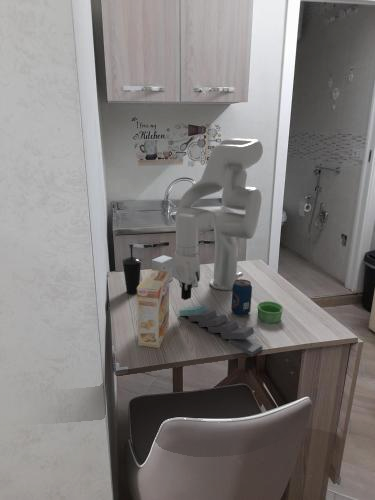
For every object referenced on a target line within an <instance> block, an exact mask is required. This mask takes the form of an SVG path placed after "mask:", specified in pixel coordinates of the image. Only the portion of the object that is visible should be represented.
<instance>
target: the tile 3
mask: <svg viewBox="0 0 375 500" xmlns="http://www.w3.org/2000/svg"><path fill="white" fill-rule="evenodd" d="M227 321H229V319H228V316H227V314H222V315H220V314H219V315H217V316H216V317H213V318H211V319H209V320H207V321H197V323H198V327H199V328H206V327H207V328H208V327H209V326H219V325H221V324H223V323H225V322H227Z"/></svg>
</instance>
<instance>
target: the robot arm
mask: <svg viewBox="0 0 375 500" xmlns="http://www.w3.org/2000/svg"><path fill="white" fill-rule="evenodd" d="M263 151H264V147H263V144H262V142H261V141H260V140H258V139H252V138H226V139H223V140H221V141H220V143H219V144H218V145H215V146H214V147H212V150H211V151H210V154H209V158H208V160H207V162H206V164H205V165H206V166H205V168H204V171H203V174H202V176H201V178H200V180H198V181H197V182H196V183H194V184H193V185H192V186H190V188H188V190H186V191H185V193H184V194H183V196H182V197H181V198H180V201H179V203H178V206H177V210H176V213H175V251H174V253H173V256H172V258H173V265H172V276H173V279H175V280H176V281H178V283H179V287H180V290H181V293H180V294H181V296H180V298H181V299H182V300H183V301H187V300H189V299H191V298H192V289H193V288H194V289H196V288H198V287H199V282H200V278H201V266H200V265H201V264H200V262H201V261H200V257H199V234H200V233H205V232H206V233H207V232H210V231H212V229H213V232H214V233H213V234H214V257H213V258H214V260H213V261H214V263H213V278H211V279H210V281H209V285H210V287H212V288H214V289H216V290H218V291H219V290H220V291H232V288H233V284H234V282H235V281H236V280H239V278H241V277H243V276H244V273H243V272H242V271H240V272H238V273H237V271H238V270H237V269H238V268H237V267H238V253H239V246H238V241H237V239H236V238H238V239H246V240H250V239H253V238H254V236H255V235H256V231H257V227H258V222H259V218H260V217H259V216H260V212H261V206H262V193H261V191H260V189H258V188H256V187H254V186H253V187H252V186H246V185H247V176H248V173H247V170H246V169H249V168H251V167H252V166H253V165H255V164H257V163H258V162H259V161H260V160H261V158H262V156H263V153H264V152H263ZM220 191H222V193H221V194H222V195H221V205H222V206H223V207H224V208H226V209H230V210H237V211H244V213H238V212H233V211H232V212H231V211H221V212H218V213H217V214H215V212H213V211H212V210H209V209H204V208H198V207H193V206H194V205H195V203H196V202H198V201H199V200H200V199H201V198H204V197H207V196H210V195H213V194H215V193H219V192H220Z"/></svg>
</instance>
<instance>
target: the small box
mask: <svg viewBox="0 0 375 500" xmlns="http://www.w3.org/2000/svg"><path fill="white" fill-rule="evenodd" d="M172 265H173V256H172V257H171V256H168V255H164V254H162V255H161V256H158V257H156V258H154V259H151V270H155V271H167V272H169V282H171V281H173V280H174V277H173V276H172Z"/></svg>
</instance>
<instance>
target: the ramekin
mask: <svg viewBox="0 0 375 500" xmlns="http://www.w3.org/2000/svg"><path fill="white" fill-rule="evenodd" d="M256 308H257V318H258V319H259V320H260V321H261V322H264V323H268V324H275V323H278V322H280V321H281V320H282V314H283V311H284V306H282V305H281V304H280V303H278V302H275V301H267V300H265V301H260V302H259V303H258V304H257V307H256Z"/></svg>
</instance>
